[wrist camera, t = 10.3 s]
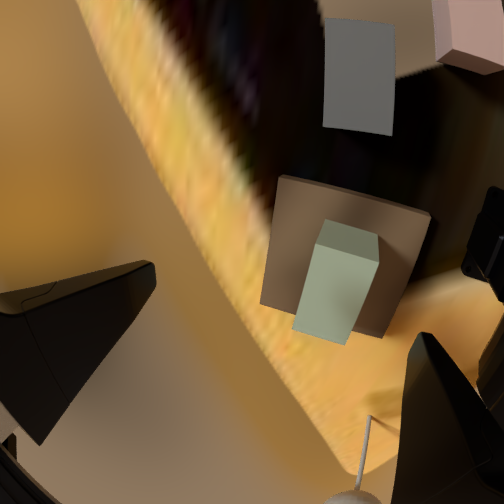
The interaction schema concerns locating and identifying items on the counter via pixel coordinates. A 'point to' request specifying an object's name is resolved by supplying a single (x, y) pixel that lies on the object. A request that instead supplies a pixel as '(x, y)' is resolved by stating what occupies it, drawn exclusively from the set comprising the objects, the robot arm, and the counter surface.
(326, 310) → the sage brick
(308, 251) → the walnut board
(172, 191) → the counter surface
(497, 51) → the rose brick
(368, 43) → the charcoal brick
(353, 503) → the lollipop
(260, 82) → the counter surface
